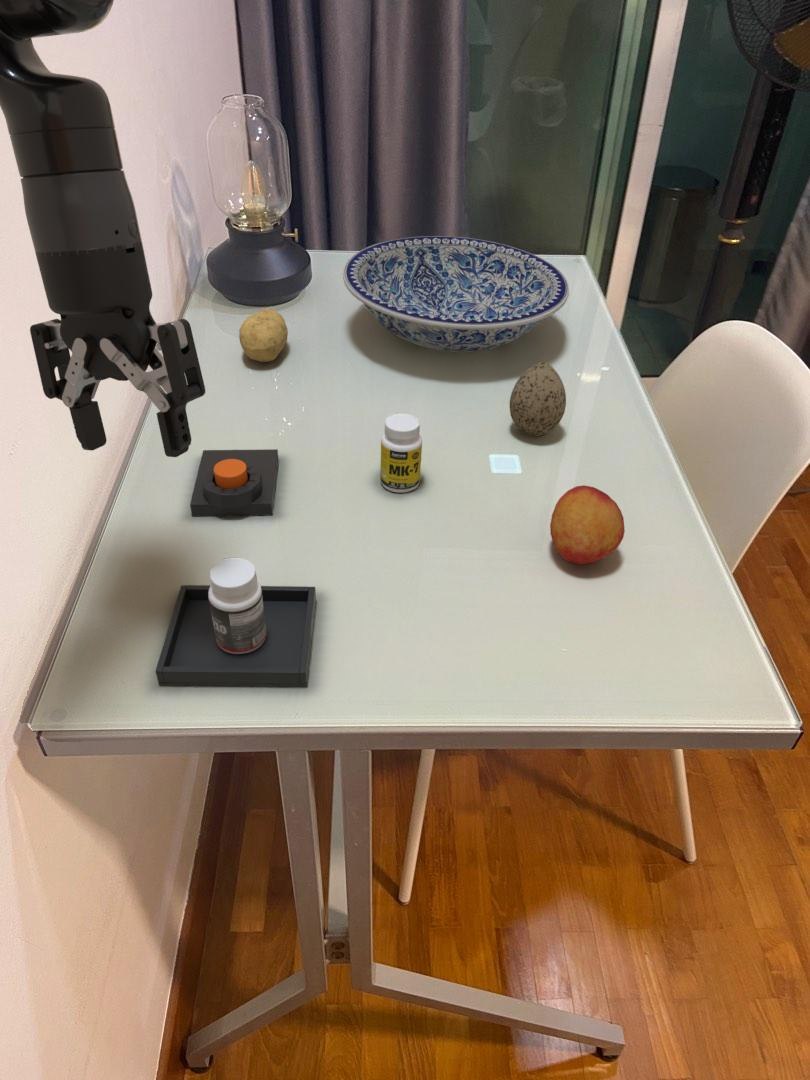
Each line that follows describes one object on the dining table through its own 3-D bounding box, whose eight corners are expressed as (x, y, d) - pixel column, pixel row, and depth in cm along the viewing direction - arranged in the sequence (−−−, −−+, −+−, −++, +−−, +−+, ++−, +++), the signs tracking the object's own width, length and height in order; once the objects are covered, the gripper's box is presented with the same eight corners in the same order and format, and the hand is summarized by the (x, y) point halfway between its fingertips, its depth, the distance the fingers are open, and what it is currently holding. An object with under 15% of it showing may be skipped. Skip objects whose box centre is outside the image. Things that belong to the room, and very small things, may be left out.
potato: (232, 369, 118) (227, 329, 114) (254, 336, 127) (250, 298, 123) (277, 373, 118) (274, 333, 114) (296, 340, 126) (293, 301, 122)
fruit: (631, 552, 89) (647, 492, 84) (591, 589, 84) (606, 528, 79) (570, 521, 93) (581, 463, 88) (529, 554, 88) (538, 495, 83)
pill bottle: (210, 628, 78) (198, 562, 72) (258, 614, 79) (250, 548, 74) (223, 662, 74) (212, 595, 69) (273, 647, 76) (265, 580, 71)
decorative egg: (494, 429, 107) (502, 360, 101) (532, 412, 111) (541, 344, 105) (534, 453, 103) (545, 382, 97) (572, 434, 107) (584, 365, 101)
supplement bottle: (385, 496, 95) (386, 435, 90) (376, 473, 99) (376, 413, 94) (424, 490, 96) (428, 430, 91) (414, 468, 100) (416, 408, 95)
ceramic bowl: (559, 397, 114) (570, 331, 108) (321, 374, 118) (318, 308, 112) (561, 300, 141) (570, 242, 134) (367, 283, 144) (366, 225, 138)
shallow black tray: (158, 685, 73) (155, 671, 71) (183, 598, 81) (180, 584, 80) (306, 686, 73) (305, 672, 72) (316, 600, 82) (315, 586, 80)
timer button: (246, 489, 91) (244, 476, 89) (213, 490, 90) (211, 477, 89) (249, 471, 93) (247, 458, 92) (217, 471, 93) (215, 458, 92)
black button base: (272, 519, 92) (269, 494, 89) (191, 520, 91) (186, 495, 89) (278, 460, 101) (276, 436, 98) (204, 461, 100) (201, 437, 98)
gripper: (-24, 251, 59) (36, 461, 66) (131, 243, 54) (178, 473, 61) (53, 239, 66) (100, 432, 72) (198, 231, 60) (234, 441, 67)
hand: (136, 450), depth 67 cm, fingers open, 8 cm apart
